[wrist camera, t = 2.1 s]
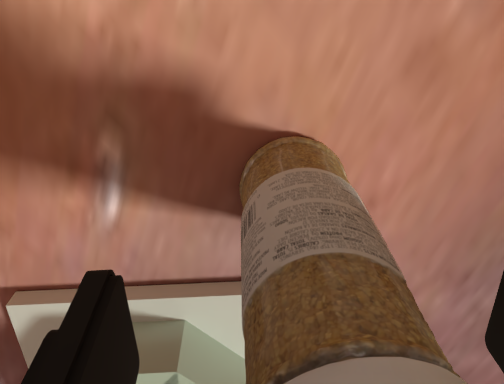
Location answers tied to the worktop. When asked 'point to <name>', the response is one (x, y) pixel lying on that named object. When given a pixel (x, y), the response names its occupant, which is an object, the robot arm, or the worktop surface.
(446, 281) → the worktop surface
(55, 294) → the bottle collar
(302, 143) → the sprinkles bottle
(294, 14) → the worktop surface
